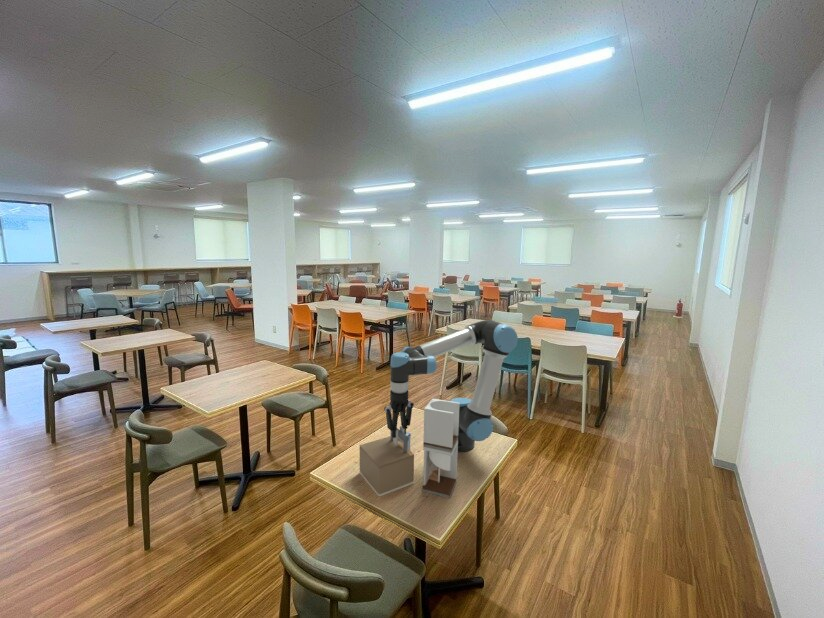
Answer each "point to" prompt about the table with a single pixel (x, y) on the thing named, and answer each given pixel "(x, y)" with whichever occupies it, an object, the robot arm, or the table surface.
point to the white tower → (440, 447)
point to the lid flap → (387, 450)
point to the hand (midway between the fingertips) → (398, 442)
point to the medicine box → (408, 440)
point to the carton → (387, 474)
